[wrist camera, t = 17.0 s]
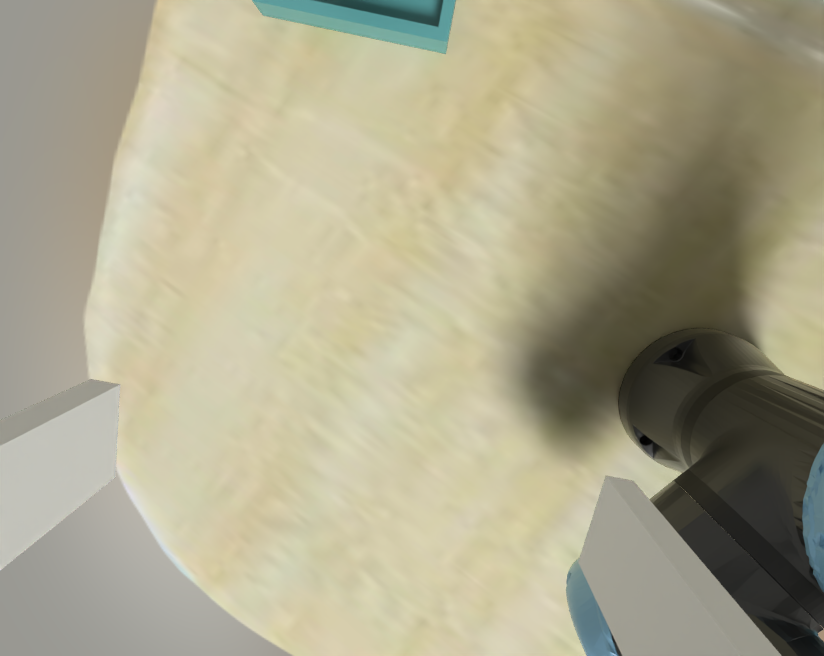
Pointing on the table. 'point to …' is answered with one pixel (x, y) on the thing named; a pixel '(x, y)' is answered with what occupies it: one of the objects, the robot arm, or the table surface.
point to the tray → (373, 18)
